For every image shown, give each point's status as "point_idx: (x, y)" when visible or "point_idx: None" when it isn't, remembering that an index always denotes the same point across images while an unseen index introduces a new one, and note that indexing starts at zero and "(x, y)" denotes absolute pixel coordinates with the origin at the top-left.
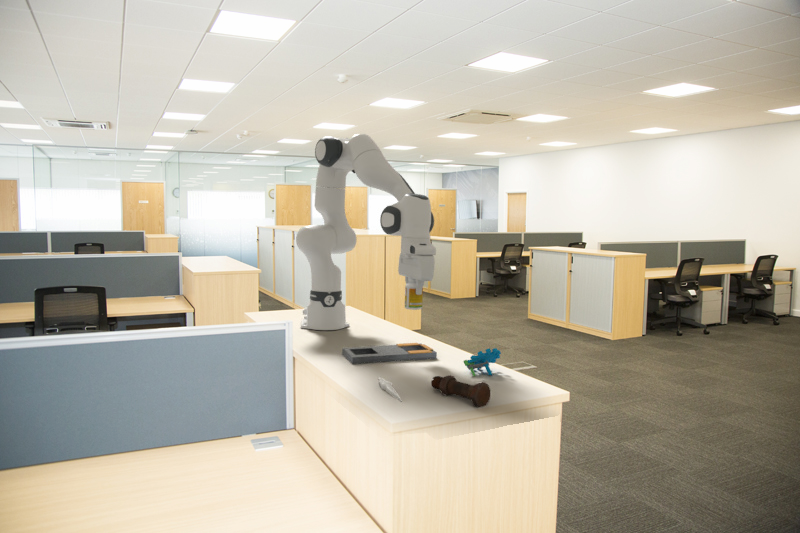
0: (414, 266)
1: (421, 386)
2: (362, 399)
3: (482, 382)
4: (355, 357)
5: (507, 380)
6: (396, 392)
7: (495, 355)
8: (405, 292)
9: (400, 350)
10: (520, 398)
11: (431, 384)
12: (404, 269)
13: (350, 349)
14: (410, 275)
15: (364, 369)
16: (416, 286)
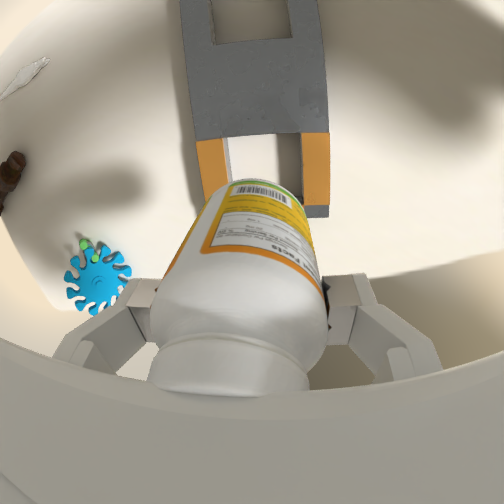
0: (6, 471)
1: (34, 134)
2: (5, 50)
3: None
4: None
5: None
6: (5, 95)
7: (95, 303)
8: (236, 224)
9: (244, 120)
10: (24, 256)
11: (15, 151)
12: (440, 466)
13: None
14: (135, 406)
15: (134, 16)
16: (100, 318)
